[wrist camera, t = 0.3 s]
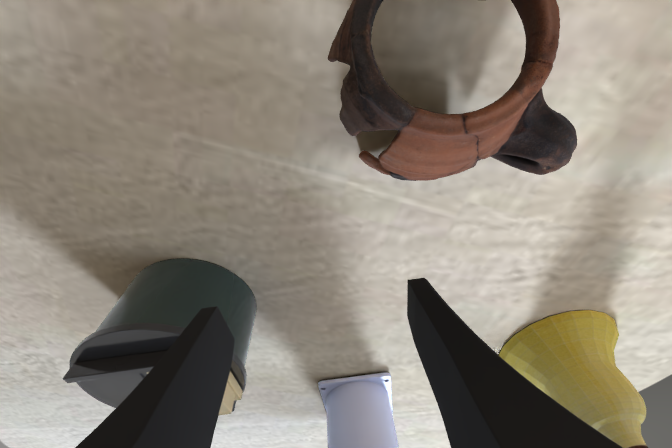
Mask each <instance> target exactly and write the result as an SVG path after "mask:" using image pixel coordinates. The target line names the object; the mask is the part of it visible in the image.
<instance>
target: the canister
mask: <svg viewBox="0 0 672 448" xmlns="http://www.w3.org/2000/svg"><path fill="white" fill-rule="evenodd" d="M215 306H218V308H219V310H220V312H221V314H222V316H223V318H224V319H225V321H226V323H227V325H228V327H229V329H230V331H231V333H232V335H233V337H234V338H235V343H234V351H233V358H232V365H231V369H230V371H231V373H232V374H233V376H234V378H235V379H236V381H237V383H238V384H239V386H240V387H241V389H242V391H243V392H244V389H245V385H246V378H247V375H246V370H245V364H246V359H247V354H248V349H249V345H250V340H251V335H252V330H253V326H254V321H255V316H256V310H257V305H256V300H255V297H254V294H253V293H252V291H251V289H250V288H249V287H248V285H247V284H246V283H245V282H244V281H243V280H242V279H241V278H239V277H238V276H237V275H235V274H234V273H232V272H231V271H229V270H227V269H225V268H223V267H221V266H218V265H216V264H213V263H209V262H206V261H201V260H195V259H169V260H164V261H160V262H157V263H154V264H152V265H150V266H148V267H146V268H144V269H143V270H142V271H140V272H139V273H138V274H137V275H136V277H135V278H134V280H133V281H132V282H131V284H130V285H129V286H128V288H127V289H126V290H125V292H124V293H123V295H122V296H121V297H120V299H119V300H118V301H117V303H116V304H115V306H114V307H113V308H112V310H111V311H110V312H109V314H108V315H107V316H106V318H105V319H104V321H103V322H102V323H101V325H100V326H99V327H98V329H97V330H96V331H95V332H94V333H93V334H91V335H89V336H88V337H86V338H85V339H84V340H83V341H82V342H81V343H80V344H79V345H78V347H77V348H76V349H75V351H74V352H73V354H72V356H71V359H70V369H69V371H68V372H67V373H66V375H65V376H64V378H63V380H65V381H66V382H67V383H72V382H77V384H78V385H79V386H80V387H81V388H82V389H83V390H84V391H85V392H87V393H88V394H90V395H91V396H92V397H94V398H96V399H97V400H99V401H101V402H103V403H105V404H107V405H110V406H112V407H115V408H117V407H118V406H119V405H120V404H121V403H122V402H123V401H124V400H125V399H126V397H127V396H128V395H129V394H130V393H131V392H132V391H133V390H134V389H135V388H136V386H137V385H138V384H139V383H140V382H141V381H142V380H143V379H144V377H145V376H146V375H147V372H150V371H151V369H152V368H153V367H154V366H155V365H156V364H157V363H158V361H159V360H160V359H161V358H162V357H163V355H164V354H165V353H166V352H167V350H168V349H169V348H170V347H171V346H172V344H173V343H174V342H175V341H176V339H177V338H178V337H179V336H180V334H181V333H182V332H183V331H184V329H185V328H186V327H187V326H188V324H189V323H190V322H191V321H192V319H193V318H194V317H195V316H196V315H197V313H198V312H199V311H200V310H201V309H202V308H207V307H215ZM236 401H237V400H235V401H234V404H233V408H232V412H233V411H234V408H235V403H236Z"/></svg>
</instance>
